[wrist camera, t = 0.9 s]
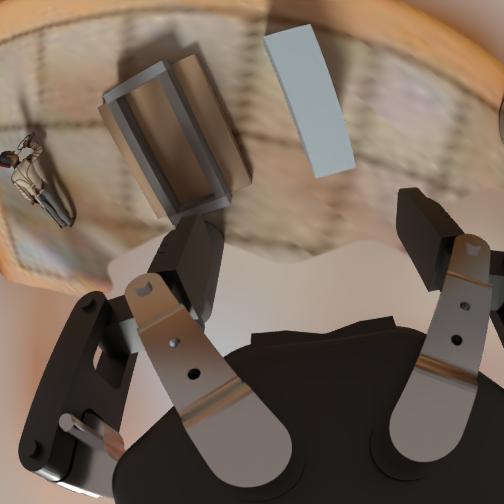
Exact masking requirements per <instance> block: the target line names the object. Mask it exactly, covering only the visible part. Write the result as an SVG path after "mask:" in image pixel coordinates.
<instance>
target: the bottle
mask: <svg viewBox="0 0 504 504" xmlns="http://www.w3.org/2000/svg"><path fill="white" fill-rule="evenodd" d="M204 223H205V226H206V230H207V233H208V236H209V239H210V242H211V245H212V250H213V261H212V265H211V269H210V273H209V277H208V281H207V285H206V290H205V294H204V298H203V302H202V307H201V311H200V315H199V319H194V320H195V322H196V323H197V325H198V326H199V327H200V329H201V330H202V331H203V333H204V329H205V325H204V323H205V322H206V321H207V320H208V319H209V318H210V316H211V313H212V308H213V303H214V298H215V292H216V287H217V282H218V276H219V270H220V265H221V259H222V254H223V249H224V240H223V236H222V234H221V233H220V231H219V230H218V229H217V228H216V227H215V226H213V225H212V224H210V223H208V222H204Z"/></svg>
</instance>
